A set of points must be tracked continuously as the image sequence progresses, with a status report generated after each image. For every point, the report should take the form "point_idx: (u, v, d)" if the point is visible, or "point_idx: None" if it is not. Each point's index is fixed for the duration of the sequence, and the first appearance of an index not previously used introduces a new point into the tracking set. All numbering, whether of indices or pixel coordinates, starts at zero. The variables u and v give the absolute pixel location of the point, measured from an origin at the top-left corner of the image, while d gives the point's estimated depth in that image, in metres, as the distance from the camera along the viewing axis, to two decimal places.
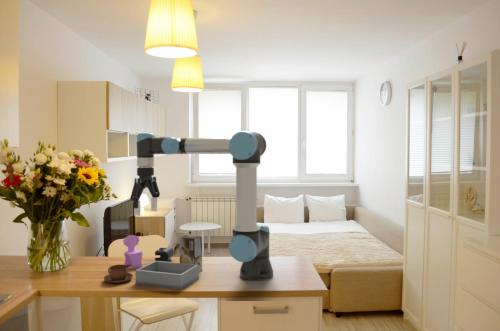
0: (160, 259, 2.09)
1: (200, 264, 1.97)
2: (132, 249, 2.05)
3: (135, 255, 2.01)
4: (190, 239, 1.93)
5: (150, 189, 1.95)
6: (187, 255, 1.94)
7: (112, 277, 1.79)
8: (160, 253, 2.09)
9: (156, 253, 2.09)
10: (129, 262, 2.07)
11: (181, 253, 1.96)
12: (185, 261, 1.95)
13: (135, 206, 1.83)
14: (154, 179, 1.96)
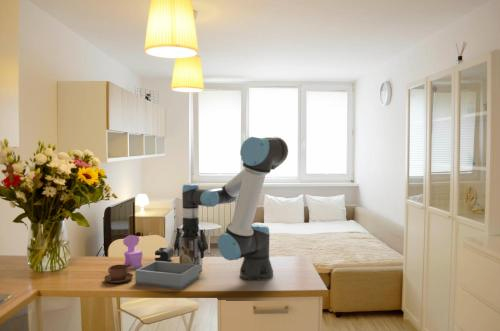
0: (160, 259, 2.09)
1: None
2: (132, 249, 2.05)
3: (135, 255, 2.01)
4: (190, 239, 1.93)
5: None
6: (187, 255, 1.94)
7: (112, 277, 1.79)
8: (160, 253, 2.09)
9: (156, 253, 2.09)
10: (129, 262, 2.07)
11: (181, 253, 1.96)
12: (185, 261, 1.95)
13: None
14: (200, 231, 1.94)
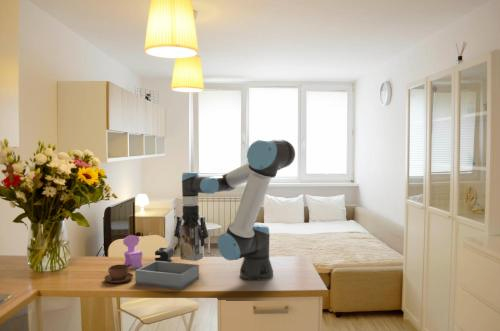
0: (160, 259, 2.09)
1: None
2: (132, 249, 2.05)
3: (135, 255, 2.01)
4: (190, 227, 1.93)
5: None
6: (188, 243, 1.94)
7: (112, 277, 1.79)
8: (160, 253, 2.09)
9: (156, 253, 2.09)
10: (129, 262, 2.07)
11: (181, 241, 1.95)
12: (185, 249, 1.94)
13: None
14: (200, 219, 1.94)
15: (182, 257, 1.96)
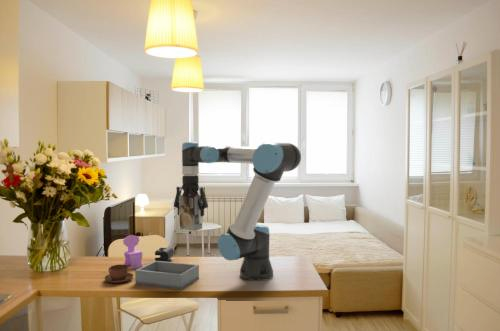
0: (160, 259, 2.09)
1: None
2: (132, 249, 2.05)
3: (135, 255, 2.01)
4: (190, 197, 1.92)
5: None
6: (187, 213, 1.93)
7: (113, 277, 1.79)
8: (160, 253, 2.09)
9: (156, 253, 2.09)
10: (129, 262, 2.07)
11: (181, 211, 1.95)
12: (185, 219, 1.94)
13: None
14: (200, 189, 1.93)
15: (181, 227, 1.95)
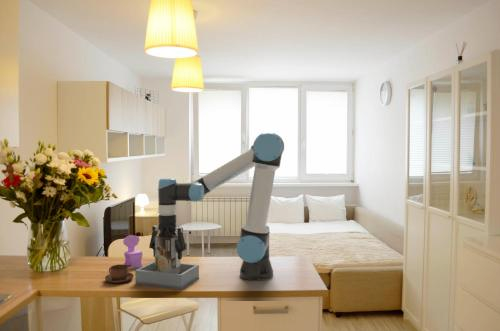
0: None
1: None
2: (132, 249, 2.05)
3: (135, 255, 2.01)
4: (166, 238, 1.77)
5: None
6: (164, 256, 1.77)
7: (113, 277, 1.79)
8: None
9: None
10: (129, 262, 2.07)
11: (157, 254, 1.79)
12: (161, 263, 1.78)
13: None
14: (177, 230, 1.77)
15: (157, 271, 1.80)
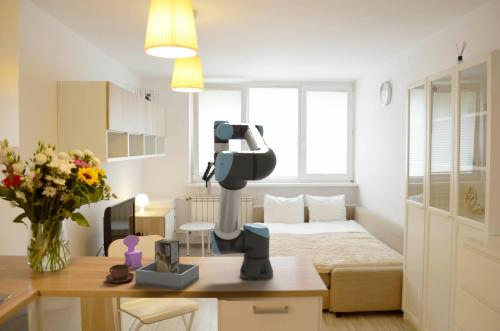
0: None
1: (177, 271, 1.80)
2: (132, 249, 2.05)
3: (135, 255, 2.01)
4: (166, 244, 1.77)
5: None
6: (163, 261, 1.78)
7: (114, 277, 1.79)
8: None
9: None
10: (129, 262, 2.07)
11: (156, 259, 1.79)
12: (161, 268, 1.78)
13: None
14: None
15: None
